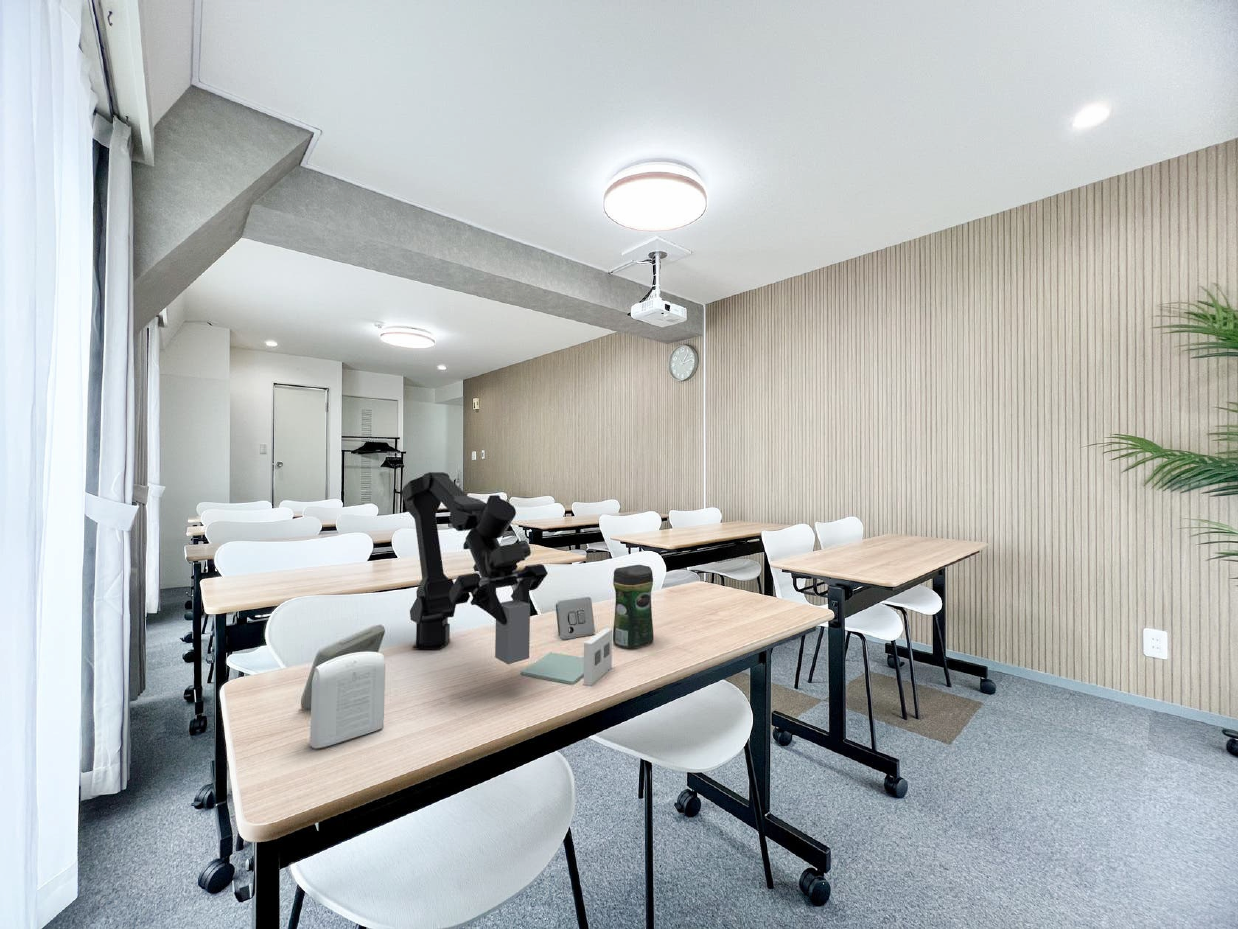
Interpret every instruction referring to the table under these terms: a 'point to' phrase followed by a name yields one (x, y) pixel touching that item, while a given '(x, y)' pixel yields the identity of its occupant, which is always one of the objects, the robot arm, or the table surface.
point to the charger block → (513, 633)
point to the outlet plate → (597, 656)
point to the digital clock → (344, 653)
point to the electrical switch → (575, 618)
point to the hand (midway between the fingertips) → (517, 621)
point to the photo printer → (347, 698)
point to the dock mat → (557, 668)
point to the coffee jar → (633, 606)
